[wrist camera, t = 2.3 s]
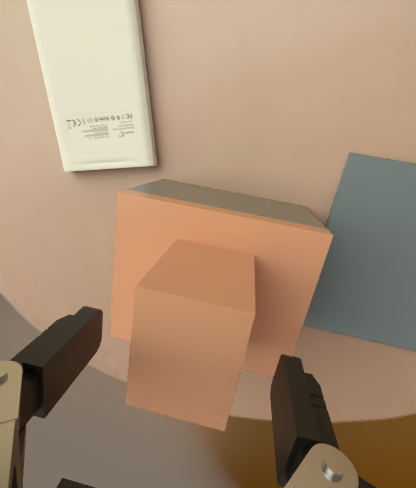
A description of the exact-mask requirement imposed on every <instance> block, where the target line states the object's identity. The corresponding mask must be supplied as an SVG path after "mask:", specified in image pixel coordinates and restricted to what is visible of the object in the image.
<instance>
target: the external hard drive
mask: <svg viewBox="0 0 416 488" xmlns="http://www.w3.org/2000/svg"><path fill="white" fill-rule="evenodd" d="M27 4H28V8H29V13H30V18H31V22H32V27H33V31H34V36H35V40H36V45H37V49H38V54H39V58H40V63H41V67H42V72H43V76H44V81H45V85H46V90H47V94H48V99H49V103H50V108H51V112H52V117H53V121H54V126H55V130H56V135H57V139H58V144H59V148H60V152H61V157H62V162H63V166H64V171H65V172H70V171H84V170H99V169H114V168H130V167H146V166H157V156H156V147H155V138H154V130H153V121H152V112H151V103H150V95H149V86H148V78H147V69H146V61H145V52H144V43H143V35H142V26H141V18H140V9H139V1H138V0H27Z"/></svg>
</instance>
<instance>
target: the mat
mask: <svg viewBox="0 0 416 488" xmlns="http://www.w3.org/2000/svg"><path fill="white" fill-rule="evenodd" d="M325 227H326V228H327V229H328V230H329V231H330V232H331V233H332V234H333V238H332V241H331V244H330V247H329V250H328V253H327V256H326V258H325V261H324V264H323V267H322V270H321V273H320V276H319V279H318V282H317V285H316V288H315V291H314V294H313V297H312V300H311V303H310V306H309V308H308V311H307V314H306V317H305V320H304V323H303V325H305V326H310V327H314V328H318V329H323V330H327V331H331V332H335V333H340V334H344V335H348V336H353V337H357V338H361V339H366V340H370V341H374V342H379V343H383V344H387V345H392V346H396V347H400V348H405V349H409V350H413V351H416V164H412V163H406V162H400V161H395V160H389V159H383V158H377V157H371V156H366V155H360V154H354V153H349V156H348V159H347V162H346V165H345V168H344V171H343V174H342V177H341V180H340V183H339V186H338V189H337V192H336V195H335V199H334V202H333V205H332V208H331V211H330V214H329V217H328V220H327V223H326V226H325Z"/></svg>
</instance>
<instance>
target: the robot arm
mask: <svg viewBox="0 0 416 488" xmlns="http://www.w3.org/2000/svg"><path fill="white" fill-rule="evenodd" d="M102 319H103V312H102V310H100V309H95V308H91V307H87V306H84V307H82V308H81V309H80V310H79V311H78V312H77V313H76V314H75V315H74V316H73V315H67V316H65V317H63V318H61V319H59V320H57V321H56V322H54V323H53V324H52V325H51V326H50V327H49V328H48V329H46V330H45V331H44V332H43V333H42V334H41V335H40V336H38V337H37V338H36V339H35V340H33V341H32V342H31V343H30V344H29V345H27V346H26V347H25V348H24V349H23V350H22V351H21V352H19V353H18V354H17V355H16V356H15V357H14V358H12V359H11V360H10V361H0V488H23V476H24V460H25V445H26V429H27V428H26V424H27V422H28V421H29V420H30V419H31V417H32V416H33V415H34V416H38V417H41V418H45V417H46V416H47V415H48V413H49V412H50V411H51V410H52V408H53V407H54V405H55V404H56V403H57V402H58V401H59V399H60V398H61V397H62V395H63V394H64V393H65V392H66V390H67V389H68V388H69V387H70V385H71V384H72V383H73V381H74V380H75V379H76V378H77V376H78V375H79V374H80V372H81V371H82V370H83V369H84V367H85V366H86V365H87V364H88V362H89V361H90V360H91V358H92V357H93V356H94V355H95V353H96V352H97V350H98V348H99V346H100V343H101V339H102ZM323 398H324V397H323V394H322V391H321V387H320V385H319V384H318V382H317V381H316V379H315V378H314V377H313V375H312V374H308V373H304V370H303V366H302V362H301V359H300V358H297V357H293V356H289V355H285V354H281V356H280V359H279V362H278V365H277V368H276V371H275V374H274V377H273V380H272V385H271V392H270V399H271V411H272V423H273V435H274V447H275V459H276V472H277V484H278V486H282V487H284V488H376V487H375V486H373V485H371V484H370V483H368V482H366V481H365V480H363V479H362V478H361V477H359V476H358V475H357V473H356V470H355V468H354V466H353V465H352V463H351V462H350V460H349V459H348V458H347V457H346V456H345V455H344V454H343V453H342V452H341V451H340V450H339V447H338V444H337V440H336V437H335V434H334V430H333V427H332V424H331V421H330V417H329V414H328V411H327V410H326V408H327V407H326V404H325V401H324V400H323ZM57 488H94V487H91V486H88V485H84V484H81V483H78V482H74V481H71V480H68V479H64V478H62V479H61V481H60V483H59V484H58V486H57Z"/></svg>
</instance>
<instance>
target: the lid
mask: <svg viewBox="0 0 416 488" xmlns="http://www.w3.org/2000/svg"><path fill="white" fill-rule="evenodd" d="M332 238H333V234H332V233H331V232H330V231H329V230H328V229H324V228H319V227H314V226H309V225H304V224H299V223H294V222H289V221H283V220H278V219H273V218H268V217H263V216H258V215H253V214H248V213H243V212H238V211H233V210H228V209H223V208H218V207H213V206H208V205H203V204H198V203H193V202H188V201H183V200H178V199H172V198H167V197H162V196H157V195H152V194H147V193H142V192H137V191H132V190H123V191H120V192H118V198H117V216H116V234H115V252H114V271H113V289H112V307H111V326H110V336H111V337H115V338H119V339H123V340H127V341H131V345H130V356H129V368H128V379H127V391H126V402H125V404H127V405H130V406H134V407H138V408H141V409H145V410H149V411H152V412H156V413H160V414H163V415H167V416H170V417H174V418H178V419H182V420H185V421H189V422H192V423H196V424H200V425H203V426H207V427H211V428H215V429H218V430H222V431H225V427H226V422H227V419H228V416H229V412H230V408H231V404H232V401H233V397H234V393H235V389H236V386H237V382H238V378H239V374H240V370H241V369H243V370H247V371H251V372H255V373H259V374H263V375H267V376H271V377H274V374H275V371H276V368H277V365H278V362H279V359H280V356H281V354H285V355H289V356H293V353H294V350H295V347H296V344H297V341H298V338H299V335H300V332H301V329H302V326H303V323H304V320H305V317H306V314H307V311H308V308H309V306H310V303H311V300H312V297H313V294H314V291H315V288H316V285H317V282H318V279H319V276H320V273H321V270H322V267H323V264H324V261H325V258H326V256H327V253H328V250H329V247H330V244H331V241H332Z"/></svg>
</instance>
